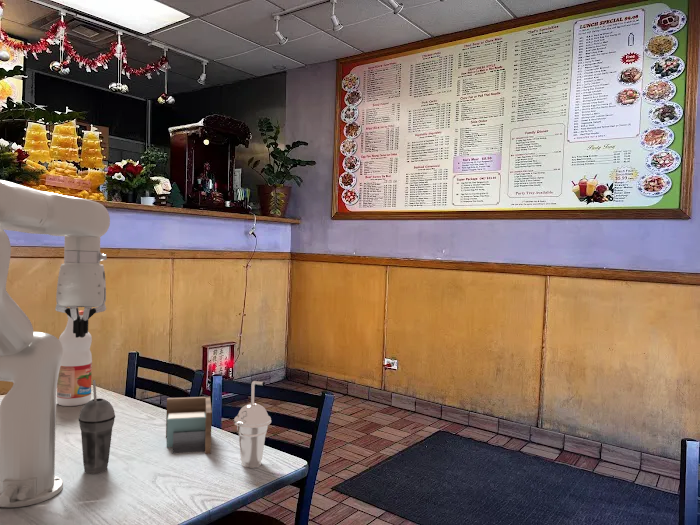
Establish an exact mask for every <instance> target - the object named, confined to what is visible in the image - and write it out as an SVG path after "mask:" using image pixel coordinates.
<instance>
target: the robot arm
mask: <svg viewBox="0 0 700 525" xmlns="http://www.w3.org/2000/svg"><path fill="white" fill-rule="evenodd" d="M110 224H111V218H110V214H109V211H108V209H107V207H105V205H103V203H100V202H97V201H94V200H91V199H86V198H81V197H77V196H76V197H75V196H70V195H63V194H59V193H56V192H55V193H54V192H49V191H43V190H38V189H35V188H31V187H28V186H26V185H25V186H24V185H22V184H18V183H15V182H12V181H8V180H3V179H0V382H11V383H13V385H12V386H11V388H10V389H9V391H8V392H7V393H6V394H5V395H4V396H3V398H2V400H1V402H0V508H20V507H21V508H22V507H27V506H33V505H36V504H40V503H42V502H45V501H47V500H51V499H52V498H53V497H55V496H57V495H58V494H60V492H61V491H62V490H63V489H64V480H63V479H62V478H61V477H60V476H57V475H55V473H56V472H55V468H56V467H55V465H56V464H55V462H56V422H57V421H56V419H57V418H56V416H57V415H56V413H57V411H56V410H57V409H56V408H57V382H58V375H59V370H60V366H61V361H62V356H63V348H62V344H61V342H60V341H59V338H57V336H55V335H53V334H50V333H48V332H42V331H34V326H33V325H32V324H33V323H32V321H31V320H30V319H29V317H28V316H27V314H26V313H25V311H23V309H22V308H21V307H20V305H18V303H17V302H16V301H15V300H14V299H13V297H11V296H10V294H9V293H8V291H7V280H8V274H9V271H10V270H9V268H10V264H11V263H10V262H11V255H12V246H11V241H10V238H9V236H8V234H7V233H6V231H12V232H19V233H24V234H25V233H26V234H33V235H34V234H35V235H49V236H52V237H64V250H63V252H64V255H63V256H64V257H63V263H61V264H60V267H59V272H58V276H57V286H56V293H55V294H56V298H55V299H56V304H55V311H56V312H60V313H64V314H66V316H67V315H68V316H70V317H71V319H72V320H73V333H76V338H78V337H84V336H85V335H86V333H88V332H89V319H91V317H93V316H94V315H95V314H98V313H102V312H103V313H104V312H106V310H107V306H106V301H107V283H106V280H107V279H106V273H105V266H104V264H101V262H102V261H107V257H108V256H107V253H106V254H104V253H102V251H101V237H102V236H105V234H106V233H107V232H108V231H109V229H110ZM79 308H84V309H83V311H84V313H83V317H82V320H81V319H80V316H79V310H80V309H79Z"/></svg>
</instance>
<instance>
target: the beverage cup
mask: <svg viewBox="0 0 700 525" xmlns="http://www.w3.org/2000/svg"><path fill="white" fill-rule="evenodd" d="M96 385H97V384H96V379H92V389H93V390H92V391H93V399H91V400H90V401H89V402H87V403H86V404H83V406H82V408H81V410H80V412H79V417H78V422H79V428H80V433H81V434H80V436H81V446H82V447H81V448H82V461H83V462H82V463H83V468H84V473H85V474H86V475H97V474H98V475H99V474H102V473H105V472H106V471H107V470H108V466H109V460H110V452H111V445H112V444H111V442H112V436H113V435H112V432H113V427H114V424H115V423H114V422H115V418H116V414H115V409H114V407H113V405H112V403H111V402H110V401H108V400H107V399H104V398H97V386H96Z"/></svg>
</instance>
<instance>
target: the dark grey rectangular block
mask: <svg viewBox="0 0 700 525" xmlns="http://www.w3.org/2000/svg"><path fill="white" fill-rule="evenodd" d="M200 452H202V453H203V452H204V453H205V430H194V431H176V432H173V447H172V455H173V454H186V453H200Z"/></svg>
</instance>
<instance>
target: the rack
mask: <svg viewBox="0 0 700 525" xmlns="http://www.w3.org/2000/svg"><path fill="white" fill-rule="evenodd" d="M183 412H205V416H206V420H205V451H204V454H205V455H210V454H211V453H212V452H211V451H212V447H211V446H212V421H213V420H212V418H213V417H212V415H213V413H212V412H213V411H212V402H211V396H190V397H189V396H187V397H185V396H184V397H167V398H166V424H165V439H167V418H168V413H183Z"/></svg>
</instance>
